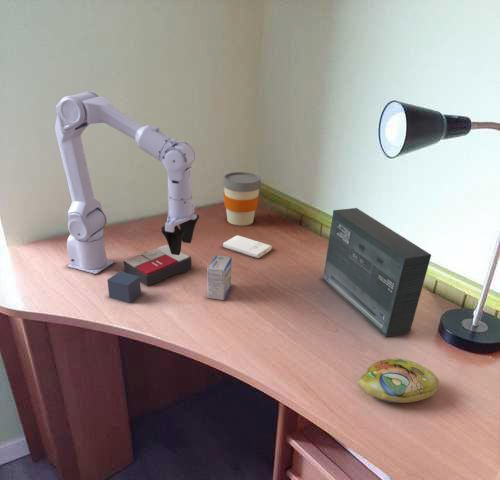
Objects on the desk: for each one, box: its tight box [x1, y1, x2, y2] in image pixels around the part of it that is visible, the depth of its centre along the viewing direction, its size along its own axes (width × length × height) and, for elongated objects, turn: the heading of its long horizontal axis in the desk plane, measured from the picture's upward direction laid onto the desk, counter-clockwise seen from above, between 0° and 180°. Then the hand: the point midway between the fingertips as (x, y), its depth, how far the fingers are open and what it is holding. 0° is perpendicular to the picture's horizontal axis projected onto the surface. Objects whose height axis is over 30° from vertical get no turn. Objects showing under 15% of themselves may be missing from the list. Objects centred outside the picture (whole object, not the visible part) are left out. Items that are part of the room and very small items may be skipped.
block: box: [106, 270, 142, 304], centre depth 121 cm, size 6×5×5 cm
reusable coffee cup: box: [222, 171, 262, 227], centre depth 165 cm, size 13×13×15 cm
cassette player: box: [322, 207, 432, 338], centre depth 120 cm, size 29×7×20 cm, turn 23°
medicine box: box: [206, 254, 233, 301], centre depth 124 cm, size 8×4×9 cm, turn 168°
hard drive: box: [222, 234, 273, 259], centre depth 150 cm, size 2×8×12 cm
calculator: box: [122, 244, 193, 287], centre depth 134 cm, size 11×4×15 cm
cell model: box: [357, 357, 440, 404], centre depth 96 cm, size 11×8×15 cm
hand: (181, 248), depth 125 cm, fingers open, 7 cm apart
